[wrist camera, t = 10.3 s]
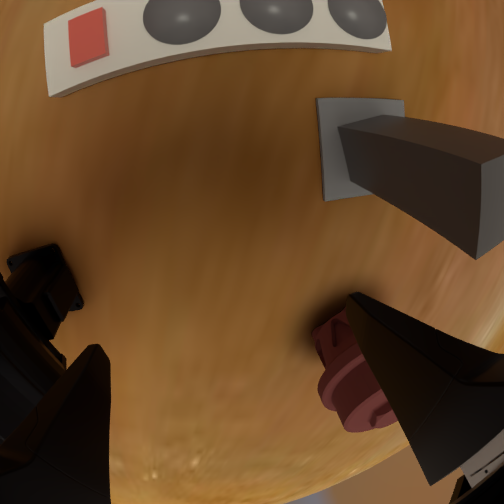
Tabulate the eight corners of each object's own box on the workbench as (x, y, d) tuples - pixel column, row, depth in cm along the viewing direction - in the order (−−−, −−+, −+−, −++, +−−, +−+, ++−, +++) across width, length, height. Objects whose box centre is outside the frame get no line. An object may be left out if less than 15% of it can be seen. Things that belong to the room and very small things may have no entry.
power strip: (61, 97, 14) (43, 96, 12) (55, 29, 12) (38, 21, 9) (377, 53, 17) (398, 49, 14) (365, -8, 14) (384, -17, 11)
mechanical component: (280, 352, 29) (324, 275, 25) (350, 358, 32) (394, 293, 29) (316, 453, 18) (394, 378, 15) (393, 437, 22) (461, 371, 18)
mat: (323, 199, 22) (325, 201, 22) (315, 98, 18) (317, 98, 18) (401, 188, 23) (404, 189, 22) (400, 100, 19) (403, 100, 19)
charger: (350, 181, 21) (475, 260, 10) (337, 126, 19) (481, 164, 8) (395, 165, 21) (520, 226, 10) (385, 114, 19) (526, 145, 8)
